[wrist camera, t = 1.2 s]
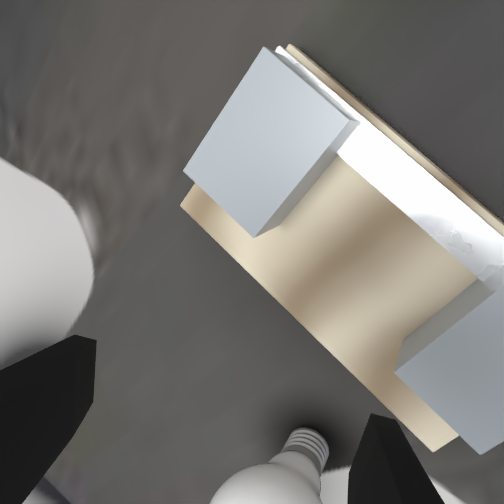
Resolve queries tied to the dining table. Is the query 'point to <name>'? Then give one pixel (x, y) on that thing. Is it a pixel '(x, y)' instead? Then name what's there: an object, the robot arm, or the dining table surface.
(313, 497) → the lightbulb
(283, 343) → the dining table surface
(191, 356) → the dining table surface
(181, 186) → the dining table surface
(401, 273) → the rail board
